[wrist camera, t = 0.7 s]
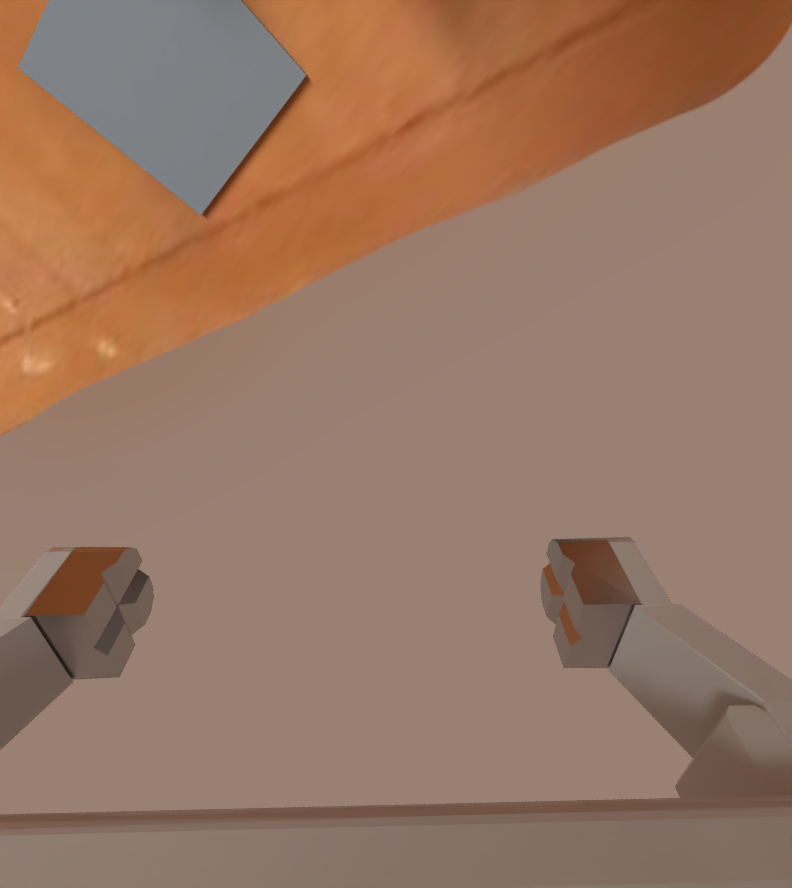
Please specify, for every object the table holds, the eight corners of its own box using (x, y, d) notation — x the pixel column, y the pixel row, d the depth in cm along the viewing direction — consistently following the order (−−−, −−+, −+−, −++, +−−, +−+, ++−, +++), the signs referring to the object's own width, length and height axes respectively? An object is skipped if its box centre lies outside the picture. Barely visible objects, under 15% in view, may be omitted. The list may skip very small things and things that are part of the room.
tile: (20, 66, 39) (17, 67, 38) (118, -143, 32) (115, -145, 32) (201, 213, 48) (200, 215, 48) (306, 74, 41) (306, 75, 41)
